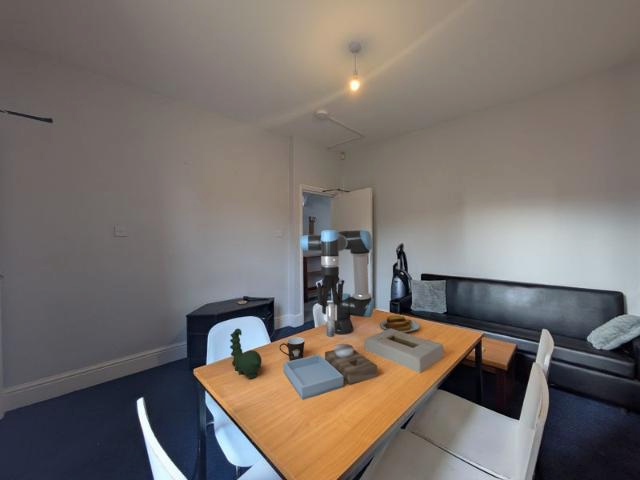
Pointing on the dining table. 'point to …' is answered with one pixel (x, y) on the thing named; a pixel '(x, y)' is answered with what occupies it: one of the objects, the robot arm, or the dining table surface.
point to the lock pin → (331, 319)
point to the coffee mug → (294, 348)
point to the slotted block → (405, 349)
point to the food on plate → (400, 324)
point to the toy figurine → (244, 357)
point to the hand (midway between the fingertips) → (330, 320)
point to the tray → (312, 376)
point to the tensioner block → (351, 364)
